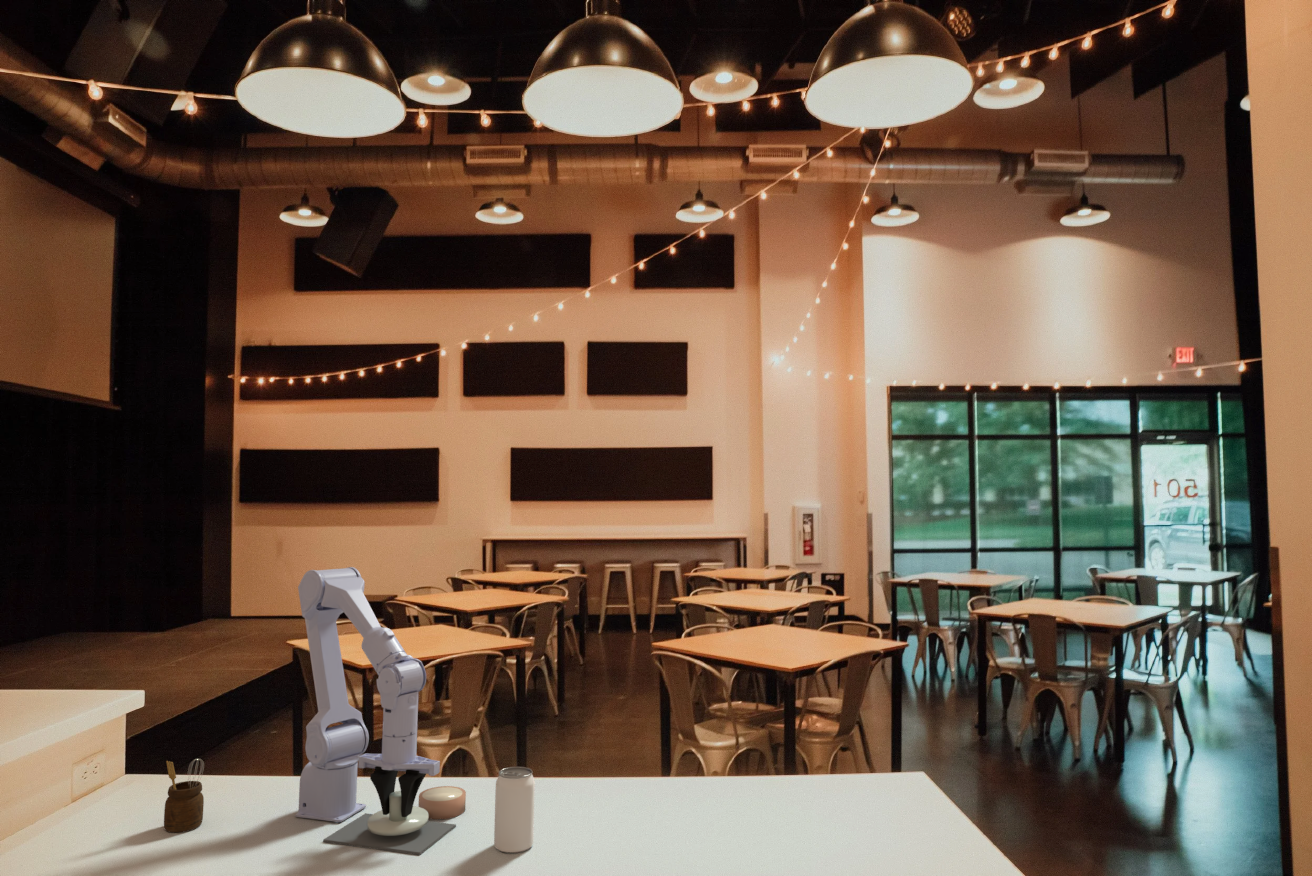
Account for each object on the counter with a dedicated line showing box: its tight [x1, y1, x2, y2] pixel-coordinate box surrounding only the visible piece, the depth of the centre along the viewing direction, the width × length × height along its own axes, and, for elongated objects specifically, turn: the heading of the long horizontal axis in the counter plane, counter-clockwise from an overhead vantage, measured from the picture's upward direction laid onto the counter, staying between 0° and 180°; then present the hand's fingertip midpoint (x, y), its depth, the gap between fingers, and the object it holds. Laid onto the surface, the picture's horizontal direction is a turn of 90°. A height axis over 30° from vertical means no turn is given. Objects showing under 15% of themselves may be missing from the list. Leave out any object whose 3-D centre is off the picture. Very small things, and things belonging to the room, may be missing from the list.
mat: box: [322, 813, 457, 856], centre depth 142 cm, size 18×12×1 cm, turn 76°
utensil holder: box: [163, 758, 205, 834], centre depth 145 cm, size 6×6×12 cm
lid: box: [367, 790, 430, 836], centre depth 143 cm, size 10×10×5 cm
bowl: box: [417, 785, 467, 821], centre depth 153 cm, size 8×8×3 cm
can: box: [493, 766, 536, 854], centre depth 139 cm, size 6×6×12 cm
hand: (397, 813), depth 142 cm, fingers closed on lid, 3 cm apart
